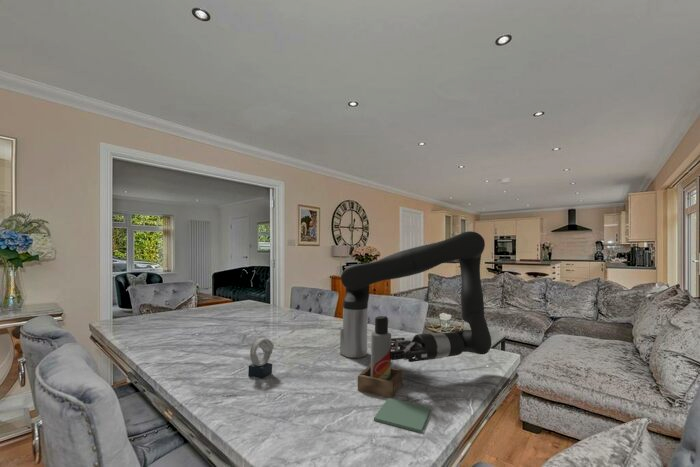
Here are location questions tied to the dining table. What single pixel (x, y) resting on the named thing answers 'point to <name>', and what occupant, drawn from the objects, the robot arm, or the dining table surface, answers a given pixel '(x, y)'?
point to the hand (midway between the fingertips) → (383, 351)
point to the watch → (261, 367)
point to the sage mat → (403, 414)
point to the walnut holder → (380, 383)
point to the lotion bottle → (381, 349)
